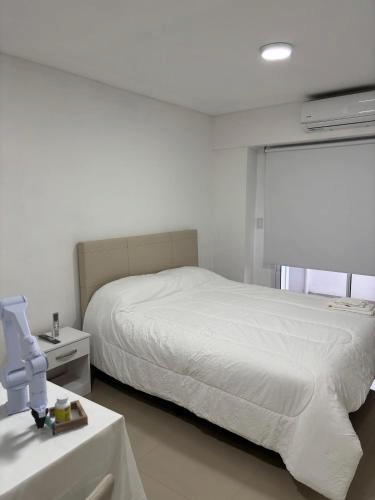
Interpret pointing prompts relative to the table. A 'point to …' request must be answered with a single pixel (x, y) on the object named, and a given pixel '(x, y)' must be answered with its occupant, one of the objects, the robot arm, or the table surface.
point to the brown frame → (70, 423)
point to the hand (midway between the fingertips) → (39, 424)
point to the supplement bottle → (62, 409)
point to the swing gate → (49, 422)
